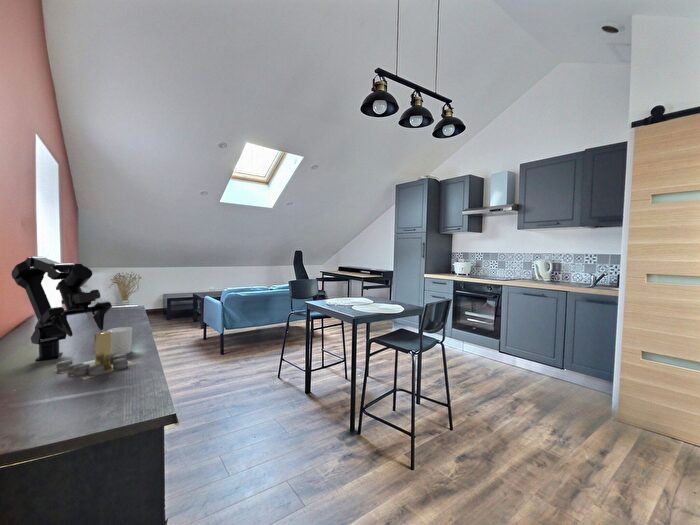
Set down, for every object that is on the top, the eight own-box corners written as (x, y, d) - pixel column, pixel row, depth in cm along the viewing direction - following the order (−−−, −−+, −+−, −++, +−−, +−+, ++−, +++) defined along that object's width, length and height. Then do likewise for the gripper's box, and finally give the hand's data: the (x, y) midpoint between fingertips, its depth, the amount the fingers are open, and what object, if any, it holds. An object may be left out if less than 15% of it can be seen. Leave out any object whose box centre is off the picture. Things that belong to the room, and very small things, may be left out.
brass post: (96, 367, 110) (95, 332, 110) (112, 365, 112) (111, 330, 112) (94, 371, 106) (93, 335, 106) (110, 369, 109) (109, 333, 108)
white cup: (119, 358, 122) (119, 332, 122) (102, 357, 124) (101, 331, 123) (137, 352, 130) (137, 327, 130) (120, 351, 131) (120, 326, 131)
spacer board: (53, 372, 107) (53, 363, 107) (106, 358, 122) (106, 349, 122) (86, 382, 100) (86, 371, 100) (139, 365, 114) (138, 356, 114)
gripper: (49, 284, 105) (65, 327, 101) (111, 280, 122) (127, 316, 118) (34, 302, 108) (49, 343, 105) (97, 295, 126) (111, 331, 122)
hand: (87, 332), depth 113 cm, fingers open, 9 cm apart
